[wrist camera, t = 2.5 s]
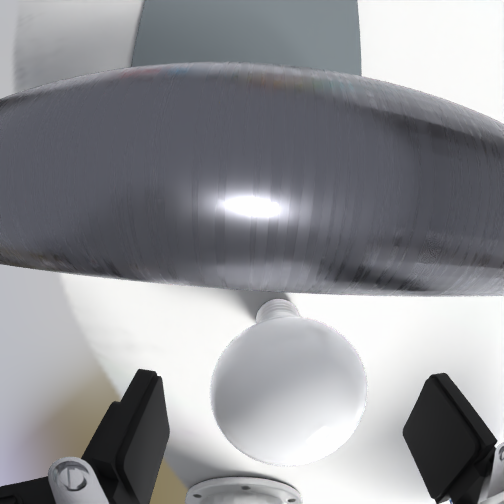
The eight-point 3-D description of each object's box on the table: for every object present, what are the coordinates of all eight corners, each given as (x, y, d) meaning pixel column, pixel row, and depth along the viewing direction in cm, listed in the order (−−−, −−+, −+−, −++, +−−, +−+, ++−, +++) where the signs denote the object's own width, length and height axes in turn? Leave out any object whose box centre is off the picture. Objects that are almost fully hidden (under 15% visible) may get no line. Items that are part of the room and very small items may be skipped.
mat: (358, 111, 16) (361, 109, 15) (130, 101, 16) (126, 99, 15) (353, -11, 14) (355, -15, 13) (153, -18, 14) (151, -22, 13)
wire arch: (388, 220, 18) (641, 332, 1) (90, 203, 18) (-154, 271, 1) (392, 172, 17) (663, 193, 1) (91, 157, 17) (-158, 158, 1)
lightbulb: (248, 250, 18) (238, 347, 7) (343, 286, 19) (424, 395, 8) (213, 338, 19) (180, 472, 9) (301, 367, 20) (329, 499, 9)
